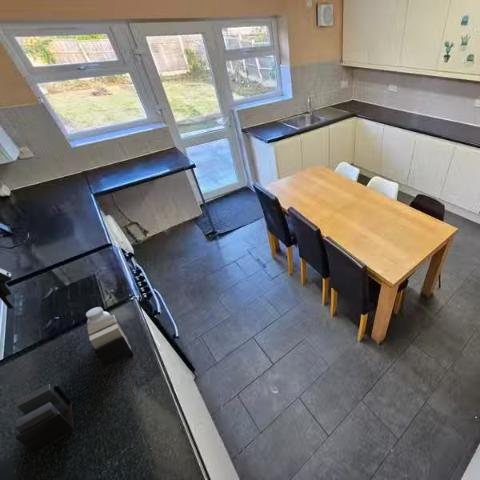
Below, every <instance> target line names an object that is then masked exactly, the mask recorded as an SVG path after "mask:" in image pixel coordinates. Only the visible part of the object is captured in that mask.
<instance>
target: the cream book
mask: <svg viewBox="0 0 480 480" xmlns="http://www.w3.org/2000/svg"><path fill="white" fill-rule="evenodd" d="M121 336H123V334H122V332H121V330H120V329H119V327H118V325H117V324H115V325H113V326H111V327H109V328H107V329H104V330H102V331H100V332H98V333H96V334H93V335H91V336H89V335H88V338H89V342H90V343H91V345H92V346H93V348H94V349H96V348H98V347H100V346H102V345H104V344H106V343H108V342H110V341H112V340H115V339H117V338H119V337H121ZM123 337H124V336H123ZM124 338H125V337H124ZM125 340H126V339H125ZM126 342H127V341H126ZM127 344H128V342H127ZM128 345H129V344H128ZM130 346H131V345H130ZM130 346H129V347H130Z"/></svg>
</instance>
